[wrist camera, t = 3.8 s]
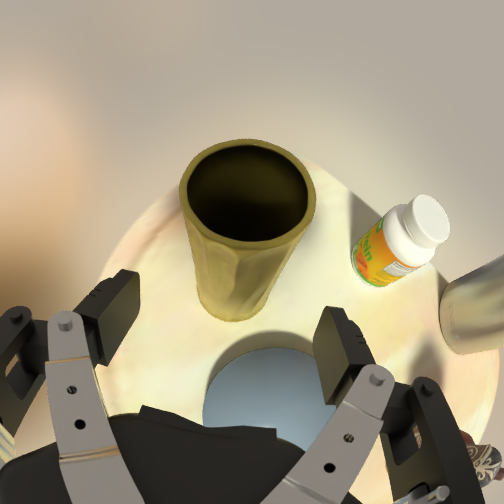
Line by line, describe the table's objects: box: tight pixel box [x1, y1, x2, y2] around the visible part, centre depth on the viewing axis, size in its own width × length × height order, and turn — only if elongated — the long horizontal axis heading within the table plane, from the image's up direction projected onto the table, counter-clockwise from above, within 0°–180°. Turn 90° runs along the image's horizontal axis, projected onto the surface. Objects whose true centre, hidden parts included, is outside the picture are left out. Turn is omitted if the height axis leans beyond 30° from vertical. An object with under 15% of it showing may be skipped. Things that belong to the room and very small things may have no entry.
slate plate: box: [202, 347, 336, 451], centre depth 19 cm, size 11×11×2 cm
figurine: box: [386, 426, 504, 488], centre depth 13 cm, size 7×7×12 cm
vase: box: [179, 139, 316, 322], centre depth 17 cm, size 6×6×14 cm
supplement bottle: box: [352, 194, 450, 288], centre depth 21 cm, size 5×5×10 cm
